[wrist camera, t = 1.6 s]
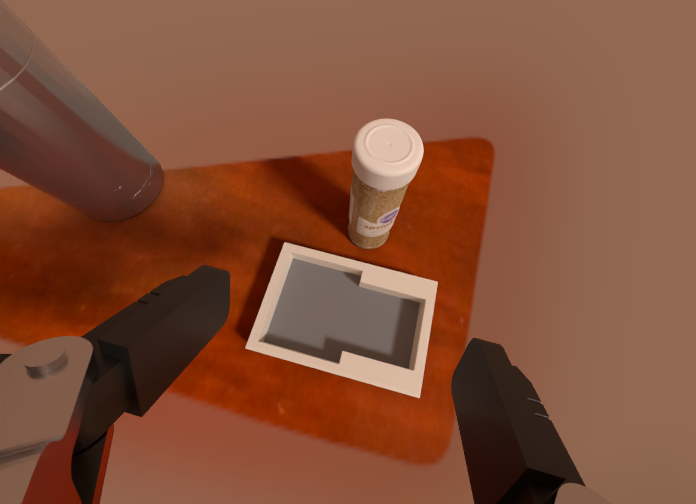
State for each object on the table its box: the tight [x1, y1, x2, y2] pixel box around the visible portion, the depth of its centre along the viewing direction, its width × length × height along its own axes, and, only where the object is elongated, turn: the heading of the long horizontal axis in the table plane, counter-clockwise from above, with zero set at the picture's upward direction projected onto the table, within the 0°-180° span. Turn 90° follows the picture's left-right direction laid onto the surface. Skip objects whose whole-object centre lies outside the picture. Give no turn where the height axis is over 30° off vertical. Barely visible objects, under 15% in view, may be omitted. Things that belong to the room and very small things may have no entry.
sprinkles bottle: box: [348, 119, 423, 249], centre depth 24 cm, size 5×5×13 cm
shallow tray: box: [245, 242, 438, 398], centre depth 26 cm, size 15×10×2 cm, turn 75°
